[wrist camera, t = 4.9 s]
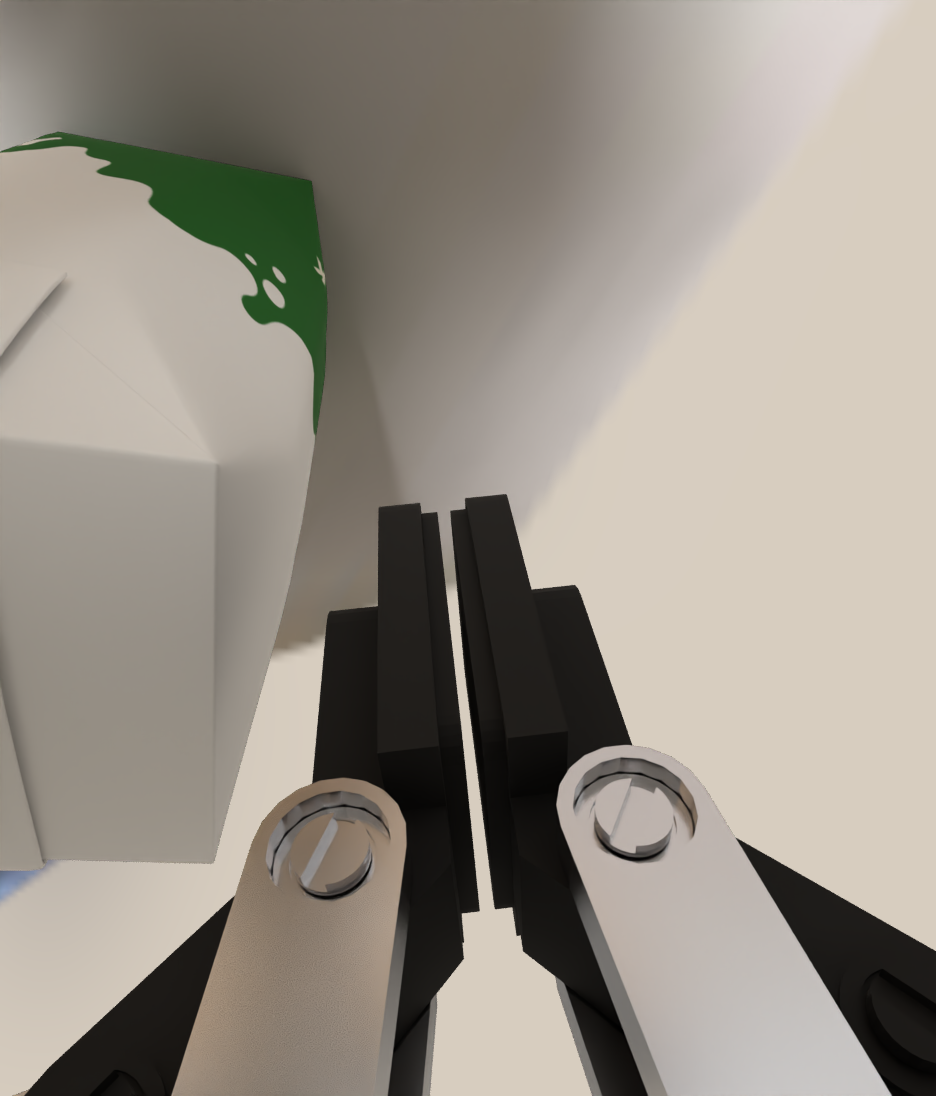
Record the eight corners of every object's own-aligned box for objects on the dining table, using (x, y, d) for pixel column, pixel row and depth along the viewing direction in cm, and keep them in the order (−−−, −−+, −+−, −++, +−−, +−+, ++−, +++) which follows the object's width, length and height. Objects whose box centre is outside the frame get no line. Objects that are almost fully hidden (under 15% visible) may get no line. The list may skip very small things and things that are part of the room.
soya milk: (18, 86, 20) (-1353, 366, 4) (351, 154, 22) (267, 536, 6) (54, 384, 25) (-524, 1041, 9) (324, 421, 27) (240, 1029, 11)
